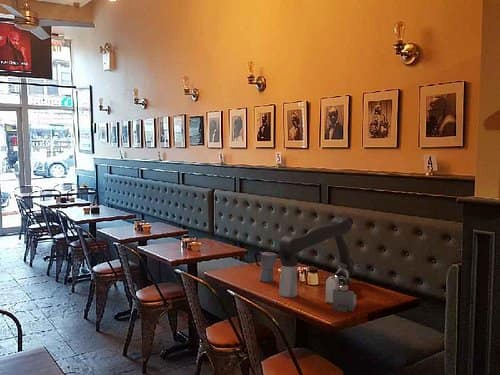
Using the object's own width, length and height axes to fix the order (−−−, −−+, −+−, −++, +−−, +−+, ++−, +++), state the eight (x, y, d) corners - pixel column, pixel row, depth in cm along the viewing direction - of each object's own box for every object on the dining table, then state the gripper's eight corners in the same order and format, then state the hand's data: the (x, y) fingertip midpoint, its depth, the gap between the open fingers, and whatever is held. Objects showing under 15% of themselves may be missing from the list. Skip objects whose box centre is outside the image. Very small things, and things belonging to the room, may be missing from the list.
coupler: (331, 310, 240) (332, 286, 240) (336, 303, 252) (337, 280, 251) (352, 312, 237) (352, 288, 236) (355, 305, 248) (356, 282, 248)
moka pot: (277, 283, 290) (277, 251, 288) (252, 282, 292) (253, 250, 291) (278, 279, 299) (279, 248, 298) (254, 278, 302) (255, 247, 300)
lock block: (325, 302, 254) (326, 279, 253) (329, 297, 263) (329, 275, 262) (334, 303, 252) (335, 281, 251) (338, 298, 261) (338, 276, 260)
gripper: (329, 268, 284) (323, 274, 269) (353, 271, 279) (348, 277, 264) (329, 281, 285) (323, 287, 270) (353, 283, 280) (348, 290, 265)
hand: (336, 282), depth 267 cm, fingers open, 8 cm apart
